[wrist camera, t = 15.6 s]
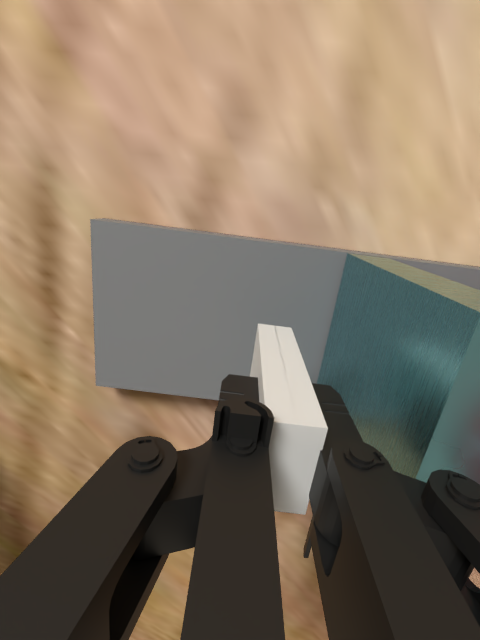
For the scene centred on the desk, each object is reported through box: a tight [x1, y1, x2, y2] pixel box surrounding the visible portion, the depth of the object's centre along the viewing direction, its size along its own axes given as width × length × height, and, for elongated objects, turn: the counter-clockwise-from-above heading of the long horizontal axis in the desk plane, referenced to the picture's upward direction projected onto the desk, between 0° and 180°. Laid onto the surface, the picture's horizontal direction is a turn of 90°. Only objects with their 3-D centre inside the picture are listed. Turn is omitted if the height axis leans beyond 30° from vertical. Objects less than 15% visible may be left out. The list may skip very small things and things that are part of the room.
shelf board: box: [90, 218, 480, 400], centre depth 13 cm, size 24×9×10 cm, turn 83°
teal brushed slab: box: [317, 253, 480, 485], centre depth 12 cm, size 2×9×9 cm, turn 173°
